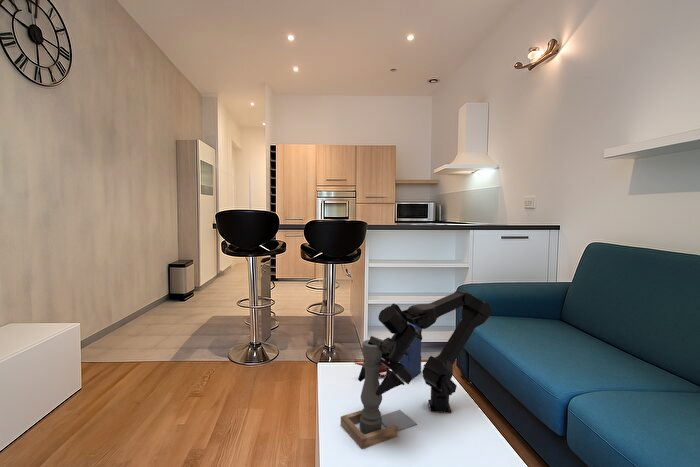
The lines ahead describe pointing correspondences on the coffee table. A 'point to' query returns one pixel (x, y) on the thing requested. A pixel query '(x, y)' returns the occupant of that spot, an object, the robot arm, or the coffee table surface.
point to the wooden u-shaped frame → (369, 438)
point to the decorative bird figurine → (381, 370)
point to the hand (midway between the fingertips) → (367, 387)
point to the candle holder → (371, 389)
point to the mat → (397, 420)
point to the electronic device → (413, 356)
